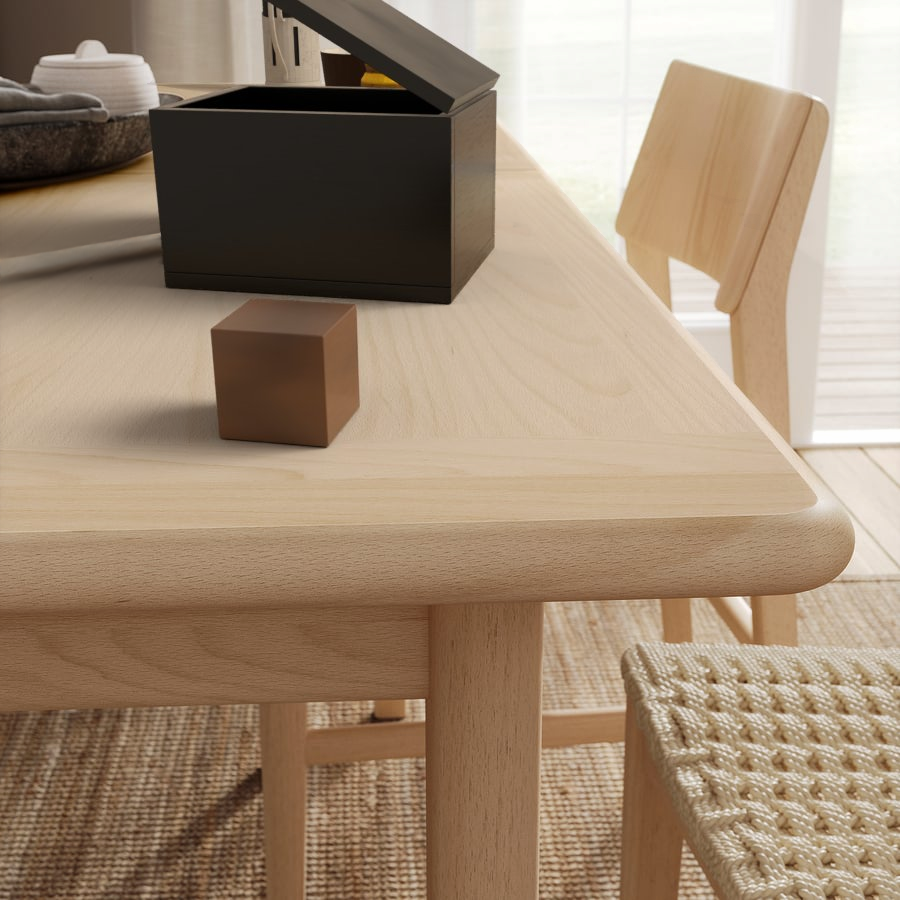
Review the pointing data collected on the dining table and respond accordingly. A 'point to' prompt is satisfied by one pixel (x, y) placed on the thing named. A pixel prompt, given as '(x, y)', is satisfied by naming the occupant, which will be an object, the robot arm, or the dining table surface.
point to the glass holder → (289, 50)
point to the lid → (396, 48)
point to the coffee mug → (341, 68)
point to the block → (286, 371)
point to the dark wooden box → (325, 191)
